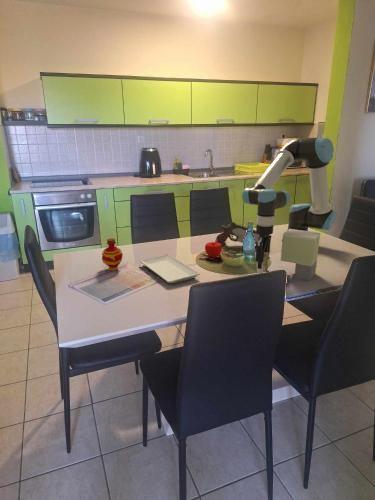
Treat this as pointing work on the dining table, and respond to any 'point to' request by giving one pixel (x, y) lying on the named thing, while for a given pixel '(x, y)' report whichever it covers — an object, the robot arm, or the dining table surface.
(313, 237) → the pale green stepped block
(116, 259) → the red yellow vase
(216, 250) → the apple
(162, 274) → the tray
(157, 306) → the dining table surface
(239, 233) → the gun
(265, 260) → the blade tool
